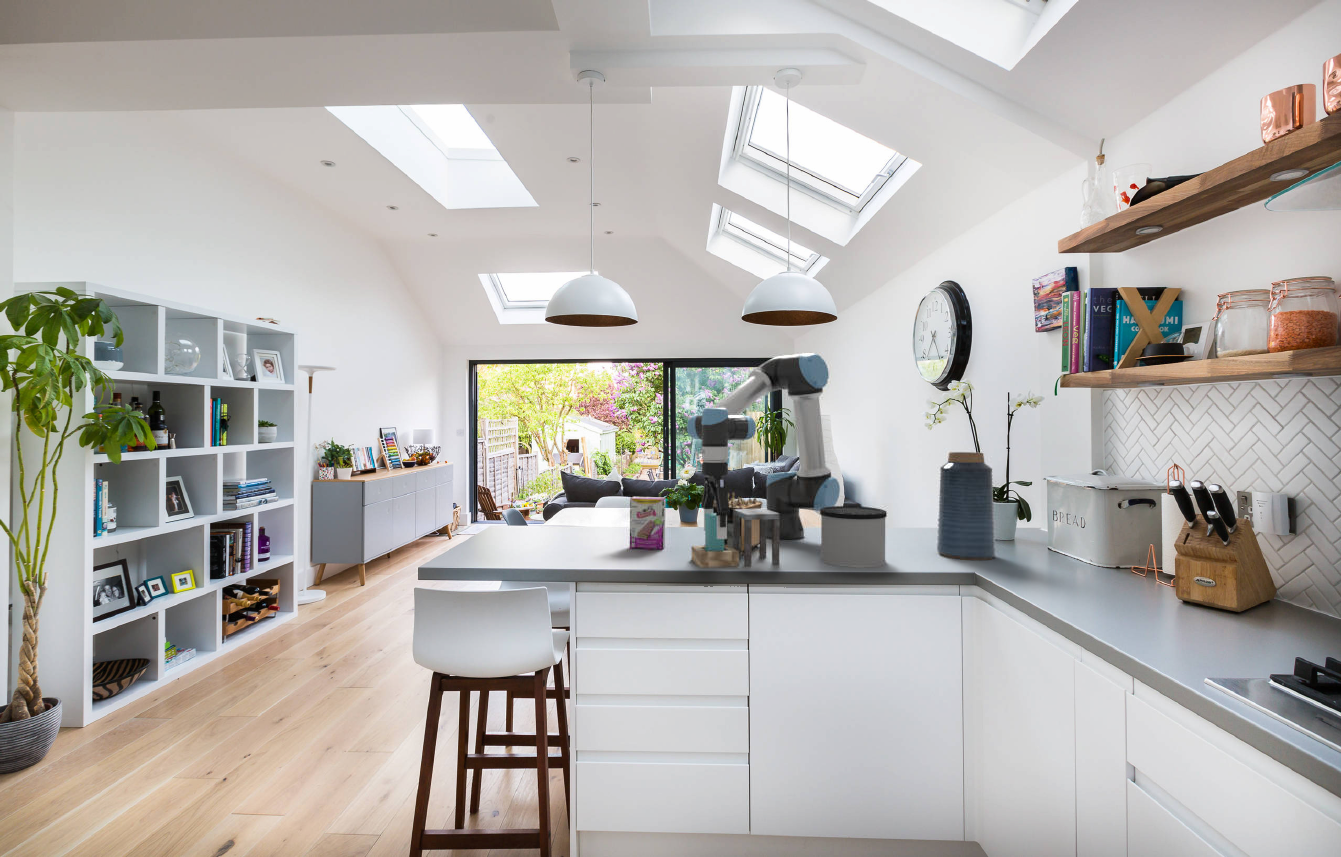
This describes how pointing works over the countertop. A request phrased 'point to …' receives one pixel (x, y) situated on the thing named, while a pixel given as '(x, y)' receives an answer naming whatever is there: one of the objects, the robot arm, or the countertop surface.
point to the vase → (966, 508)
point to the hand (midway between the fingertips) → (715, 534)
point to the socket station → (733, 554)
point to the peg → (712, 534)
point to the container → (853, 536)
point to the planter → (741, 521)
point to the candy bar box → (647, 522)
